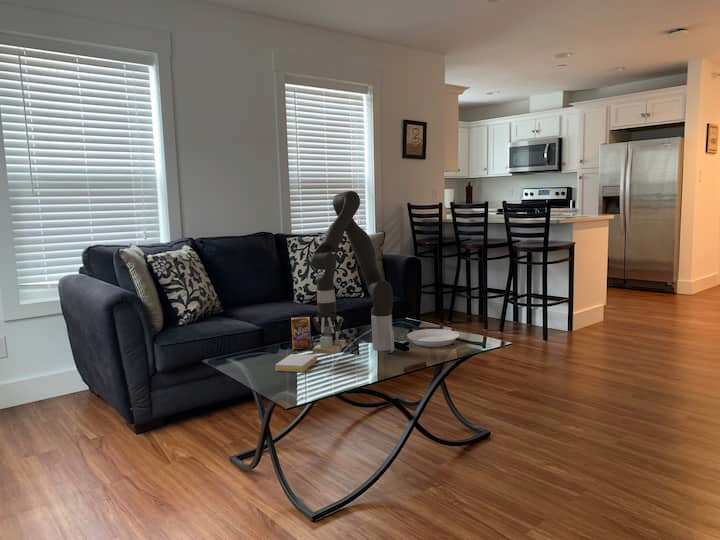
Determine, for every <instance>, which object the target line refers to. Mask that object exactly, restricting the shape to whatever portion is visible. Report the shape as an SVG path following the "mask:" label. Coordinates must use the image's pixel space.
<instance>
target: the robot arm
mask: <svg viewBox="0 0 720 540" xmlns="http://www.w3.org/2000/svg"><path fill="white" fill-rule="evenodd" d="M360 206H361V198H360V195H359V194H358V193H357V192H356V191H354V190H348V191H344V192H341V193H338V194H335V195H334V196H333V197H332V207H333V209H334V212H335V214H336V216H337V217H336V218H335V220H334V221H333V222H332V223H331V224H330V225H329V227H328V229H327V230H326V232H325V234H324V237H323V239H322V241H321V243H320V244H319V245H318V246H317V247H316V249H315V250H314V251H313V252H312V255H311V257H310V265H311V267H312V268H313V269H314V270H322V271H323V270H324V273H323V274H322V275H318V276H317V277H316V303H317V316H315V317H313V318H312V319H311V322H312V323H313V325H314V327H315V329H316V331H317V332H320V333H321V337H322V336H324V326H325V325H329V326H330V328H331V332H332V333H331V336H332V340H333V342H334V341H335V340H336V332H339V331H340V330H341V327H342V325H343V321H344V319H345V318H344V317H343V316H339V315H338V314H337V313H338V312H337V304H336V302H337V300H336V293H335V282H334V278H335V274H336V273H335V272H336V267H337V258H336V255H335V254H334V253H336V252H337V250H338V249H339V247H340V244H341V241H342V239H343V236H344V234H345V235H346V236H347V237H346V238H347V239H348V241H349V243H350V246H351V250H352V251H353V254H354V257H355V259H356V262H357V263H358V265H359V268H360V269H361V272H362V274H363V277H364V281H365V284H366V288H367V291H368V293H369V296H370V297H372V299H373V300H372V303H373V306H372V308H371V309H370V314H371V318H370V320H371V334H372V335H371V337H372V339H371V340H372V351H375V352H387V354H392V353H393V352H394V351H395V337H394V329H393V315H392V310H393V307H394V306H393V305H394V302H393V301H394V298H393V297H394V295H393V293H394V292H393V287H392V284H391V283H390V282H389V281H387V280H384V279H383V277H382V275H381V273H380V271H379V268H378V266H377V265H378V264H377V256H376V255H377V254H376V250H375V248H374V244H373V242H372V240H371V237H370V235H369V234H368V233H367V232H366V231H365V230H364V229H363V228H362V227H361V226H360V225H358V224H357V222H356V221H355V220H354V219H355V218H354V216H355V215H356V213H357V211H358V210H359V209H360ZM336 320H337V321H336ZM319 322H320V323H321V325H320V323H319ZM336 322H337V324H336Z"/></svg>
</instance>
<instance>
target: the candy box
mask: <svg viewBox="0 0 720 540" xmlns="http://www.w3.org/2000/svg"><path fill="white" fill-rule="evenodd" d="M290 319H291V320H290V321H291V322H290V323H291V340H292V341H291V342H292V350H293V349H303V348H307V349H312V339H311V338H312V336H311V335H312V334H311V319H310V316H300V317H291V318H290Z"/></svg>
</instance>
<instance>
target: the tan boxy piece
mask: <svg viewBox="0 0 720 540" xmlns="http://www.w3.org/2000/svg"><path fill="white" fill-rule="evenodd" d="M331 333H332V332H331V328H330V326H329V325H325V326H324V336H331ZM338 340H339V341H338V342H337V343H334V342H333V346H331V347H330V348H320V342H319V343H318V344H317V345H316V346H314V347H313V348H312V354H315V355H318V354H322V355H323V354H324V355H325V354H329V355H330V354H331V355H333V354H334V355H336V354H337V353H338V352H339V353H340V351H341V350H342V349H343V348H344V347H346V345H347V340H346V339H338Z"/></svg>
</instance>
